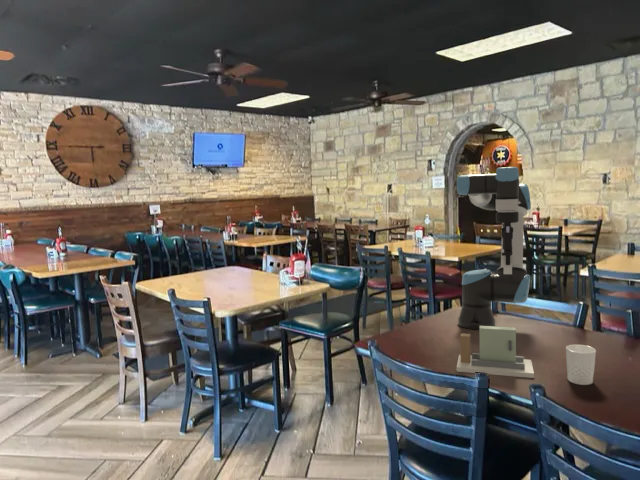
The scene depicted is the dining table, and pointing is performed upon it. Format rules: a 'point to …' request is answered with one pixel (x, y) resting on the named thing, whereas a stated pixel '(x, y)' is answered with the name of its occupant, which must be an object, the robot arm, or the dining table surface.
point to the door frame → (491, 363)
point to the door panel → (497, 343)
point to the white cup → (580, 364)
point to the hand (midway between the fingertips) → (507, 270)
